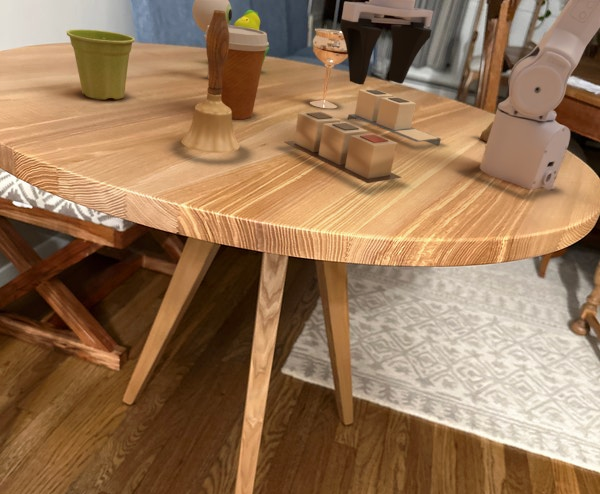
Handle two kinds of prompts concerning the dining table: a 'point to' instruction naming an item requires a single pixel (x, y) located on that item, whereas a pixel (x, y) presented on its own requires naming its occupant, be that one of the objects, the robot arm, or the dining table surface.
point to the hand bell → (213, 97)
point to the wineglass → (328, 56)
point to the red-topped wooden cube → (370, 155)
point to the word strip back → (390, 114)
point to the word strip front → (328, 141)
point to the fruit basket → (250, 22)
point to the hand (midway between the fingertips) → (376, 82)
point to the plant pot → (101, 62)
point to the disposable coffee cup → (242, 69)
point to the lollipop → (209, 12)
